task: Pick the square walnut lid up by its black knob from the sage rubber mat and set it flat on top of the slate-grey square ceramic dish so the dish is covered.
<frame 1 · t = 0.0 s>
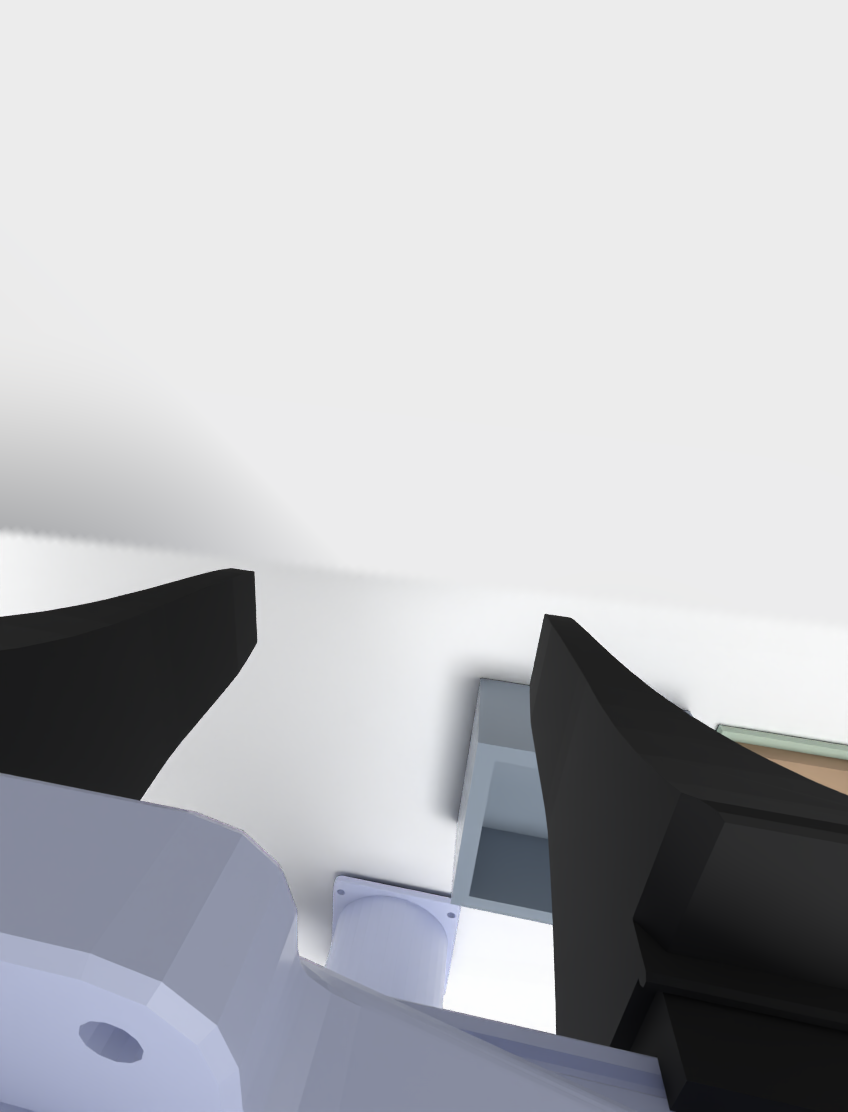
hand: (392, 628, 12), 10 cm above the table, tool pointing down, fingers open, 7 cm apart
sage mat: (810, 846, 24), on the table
walnut lid: (815, 854, 24), resting on sage mat
slate dish: (562, 772, 25), on the table
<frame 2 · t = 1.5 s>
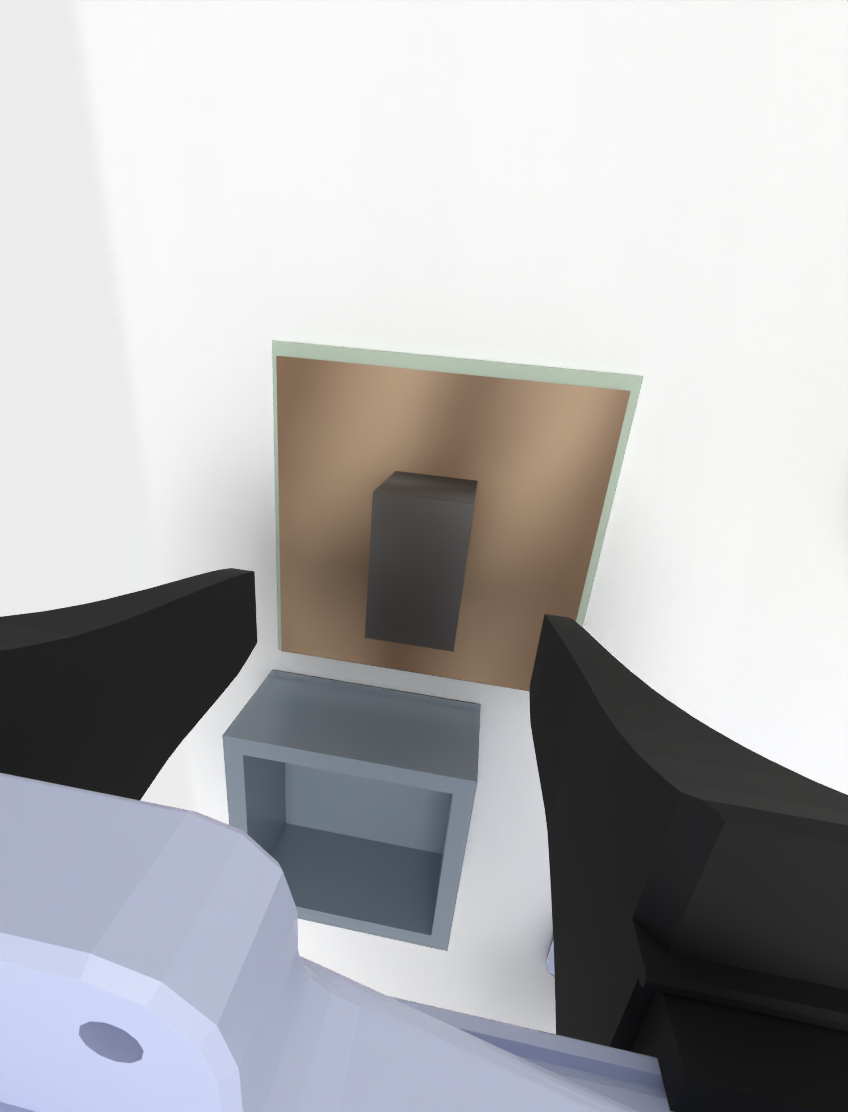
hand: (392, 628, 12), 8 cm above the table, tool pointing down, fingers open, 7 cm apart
sage mat: (433, 531, 19), on the table
walnut lid: (432, 534, 19), resting on sage mat
slate dish: (368, 768, 24), on the table
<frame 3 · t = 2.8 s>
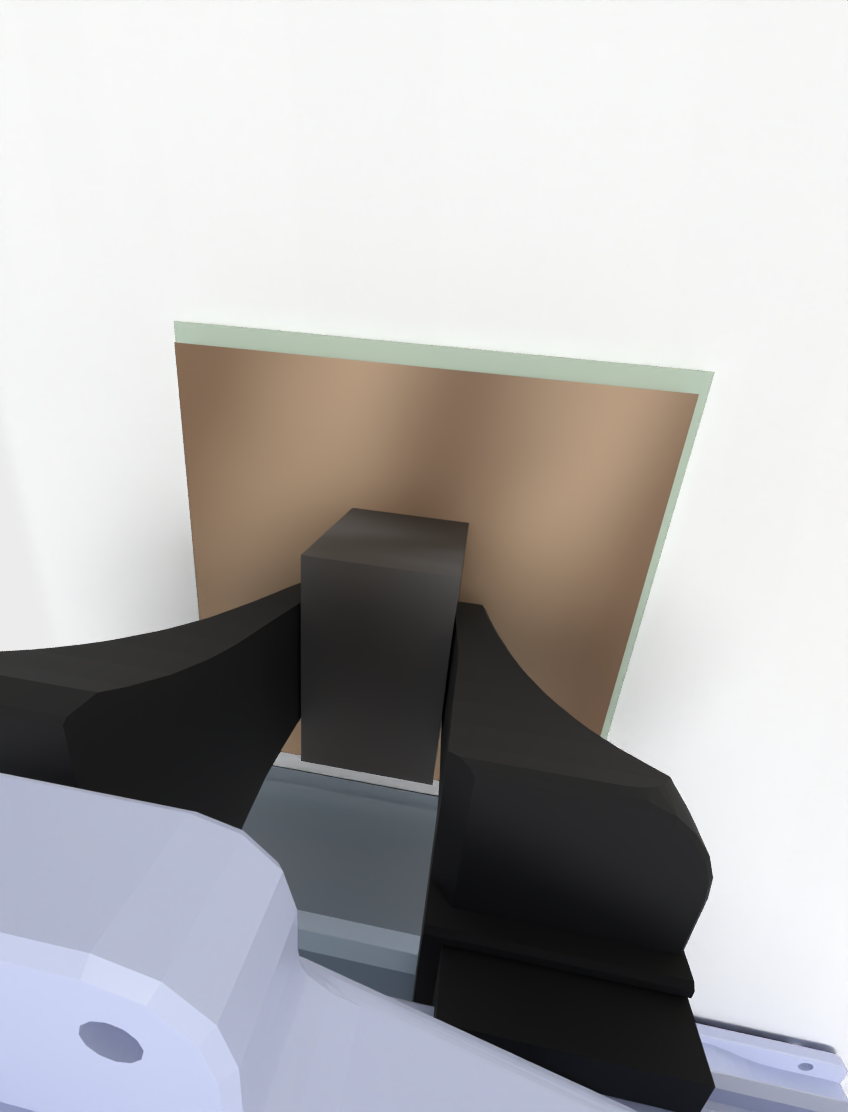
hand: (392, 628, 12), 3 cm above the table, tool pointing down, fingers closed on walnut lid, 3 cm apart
sage mat: (409, 585, 14), on the table
walnut lid: (407, 591, 14), resting on sage mat, touching gripper
slate dish: (334, 872, 19), on the table
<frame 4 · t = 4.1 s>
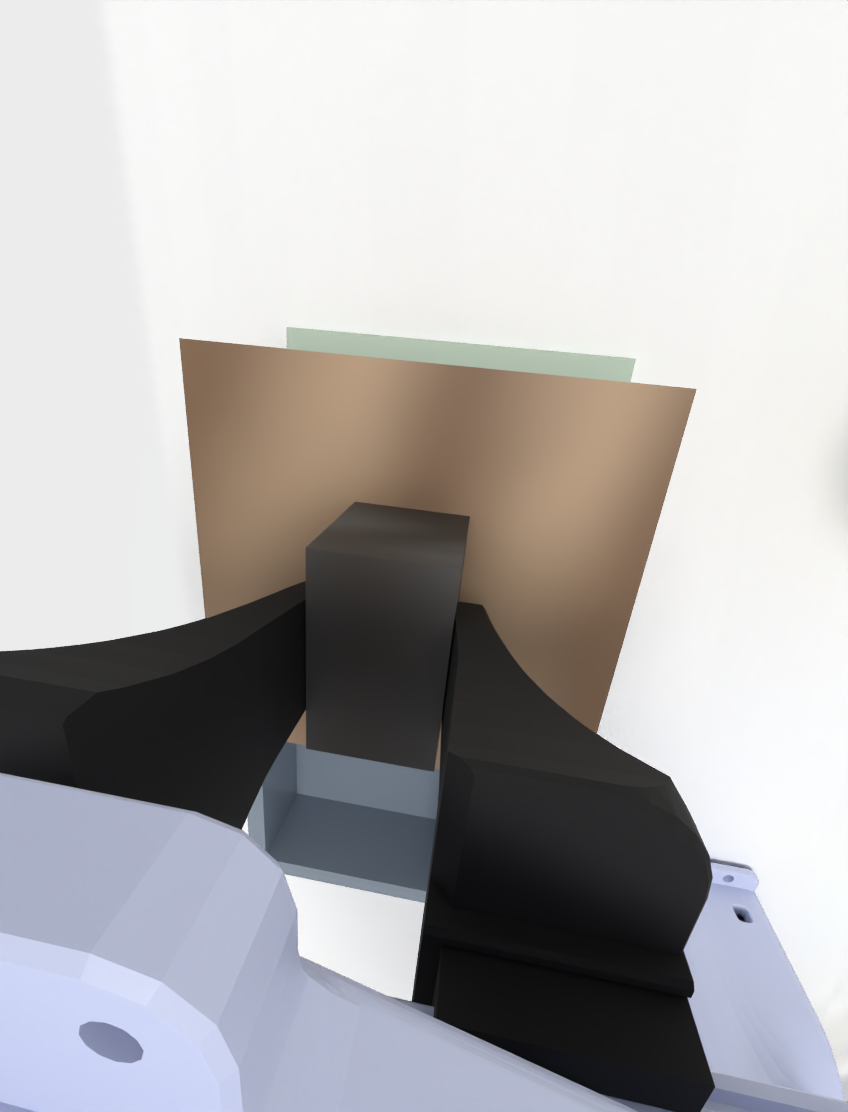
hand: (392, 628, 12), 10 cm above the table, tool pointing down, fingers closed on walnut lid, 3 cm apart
sage mat: (438, 508, 20), on the table
walnut lid: (409, 583, 14), point 7 cm above the table, touching gripper
slate dish: (376, 739, 25), on the table
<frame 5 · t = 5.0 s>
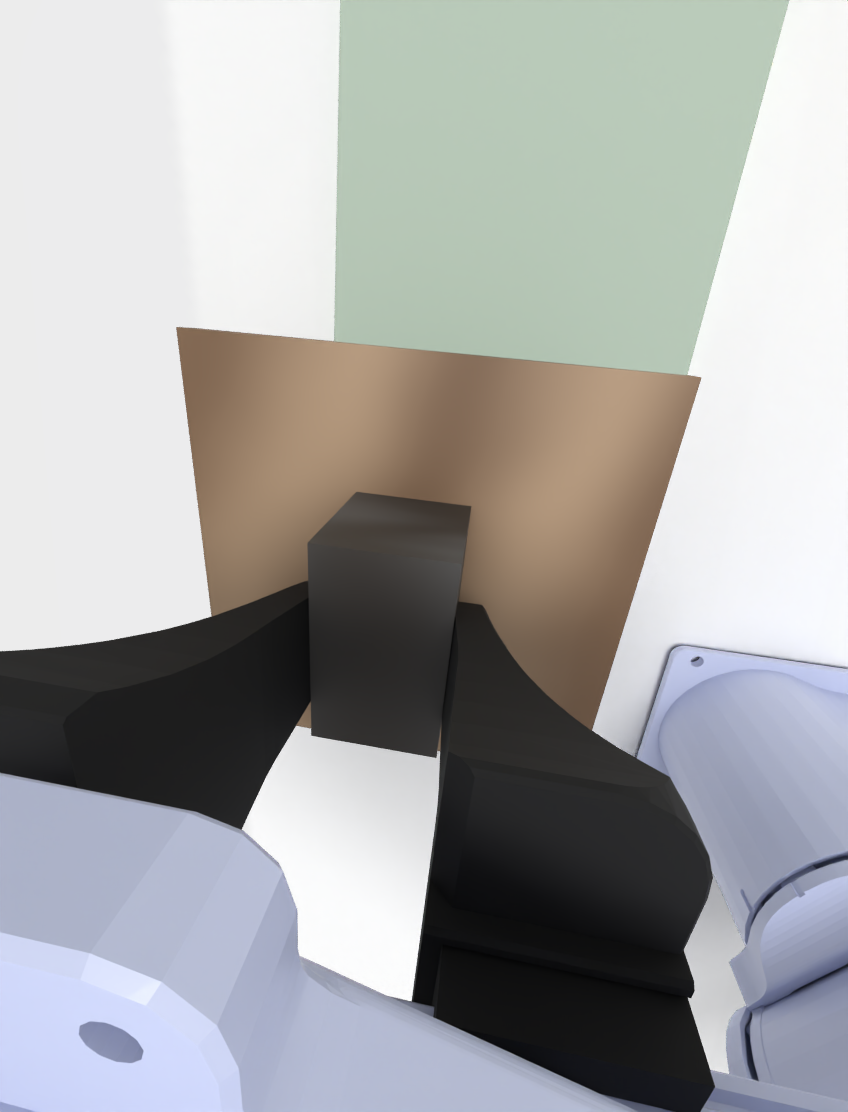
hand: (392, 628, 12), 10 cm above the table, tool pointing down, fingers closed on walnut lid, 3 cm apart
sage mat: (532, 156, 16), on the table
walnut lid: (411, 571, 14), point 7 cm above the table, touching gripper
when the fingers open (7 cm above the table, at t = 5.8 s): walnut lid stays where it is, resting on slate dish.
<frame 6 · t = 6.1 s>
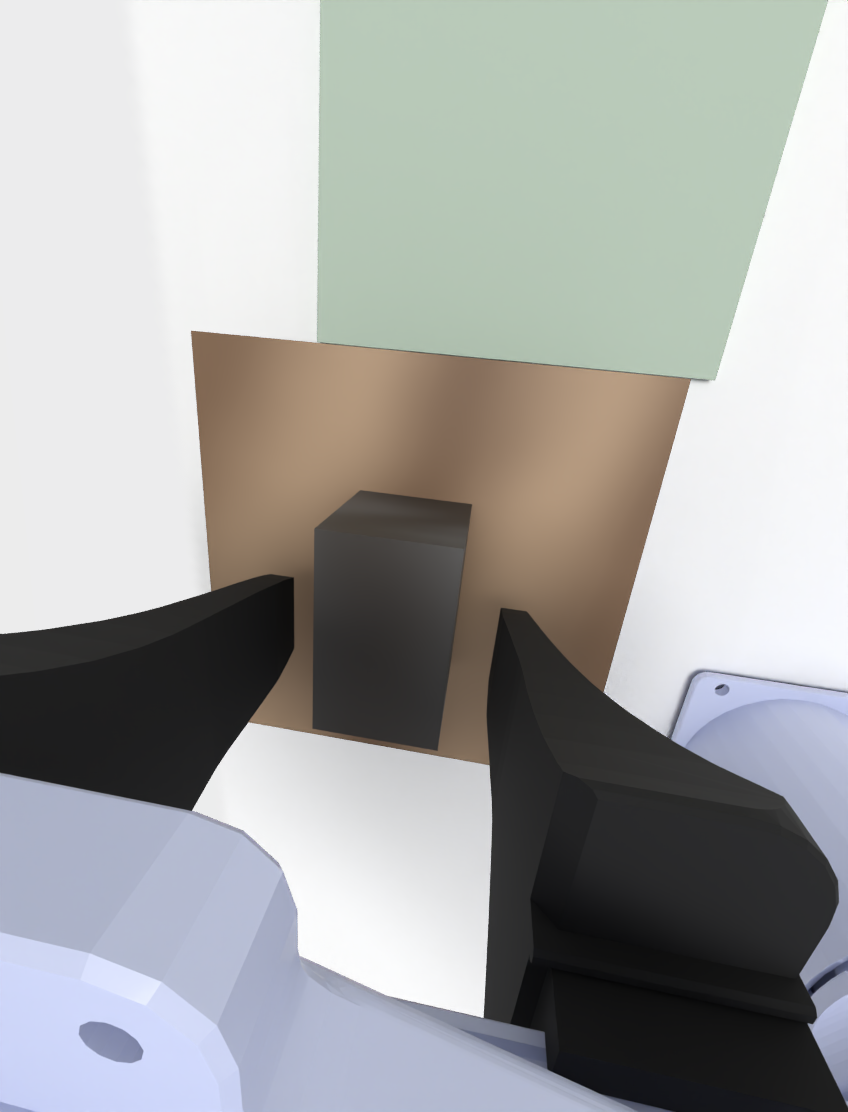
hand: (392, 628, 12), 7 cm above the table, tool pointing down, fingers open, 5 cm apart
sage mat: (543, 115, 14), on the table
walnut lid: (412, 572, 14), point 4 cm above the table, touching slate dish
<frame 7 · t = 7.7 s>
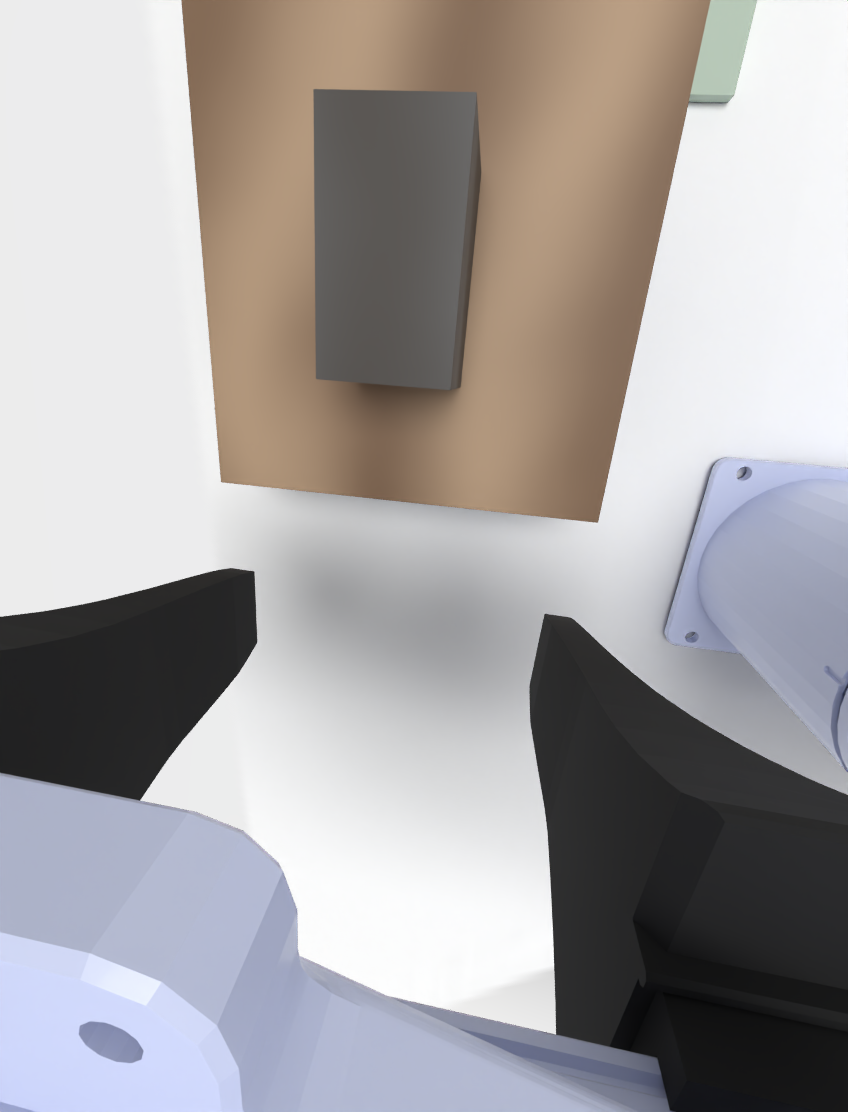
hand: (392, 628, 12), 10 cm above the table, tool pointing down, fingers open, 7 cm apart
walnut lid: (418, 289, 13), point 4 cm above the table, touching slate dish
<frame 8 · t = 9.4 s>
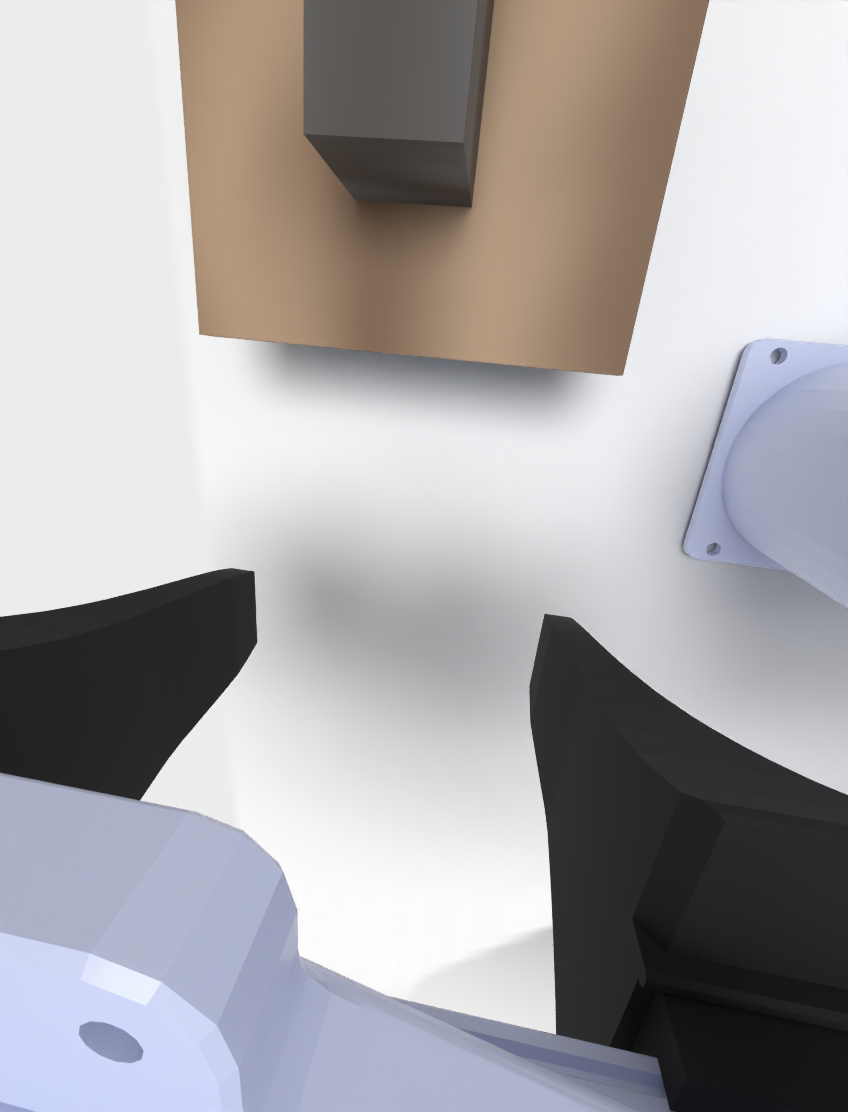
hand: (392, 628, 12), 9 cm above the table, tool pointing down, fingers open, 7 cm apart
walnut lid: (426, 94, 12), point 4 cm above the table, touching slate dish
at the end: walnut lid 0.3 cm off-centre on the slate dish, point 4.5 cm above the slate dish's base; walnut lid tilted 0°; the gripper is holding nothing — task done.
